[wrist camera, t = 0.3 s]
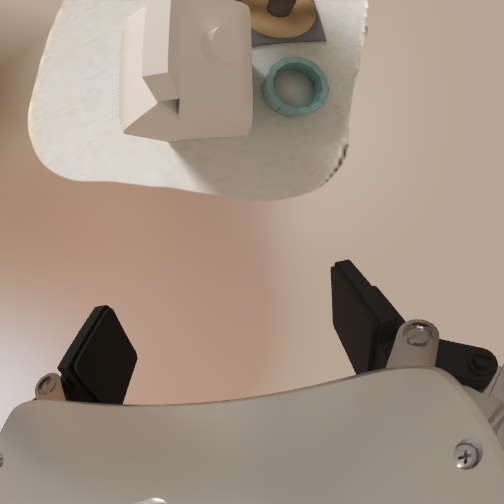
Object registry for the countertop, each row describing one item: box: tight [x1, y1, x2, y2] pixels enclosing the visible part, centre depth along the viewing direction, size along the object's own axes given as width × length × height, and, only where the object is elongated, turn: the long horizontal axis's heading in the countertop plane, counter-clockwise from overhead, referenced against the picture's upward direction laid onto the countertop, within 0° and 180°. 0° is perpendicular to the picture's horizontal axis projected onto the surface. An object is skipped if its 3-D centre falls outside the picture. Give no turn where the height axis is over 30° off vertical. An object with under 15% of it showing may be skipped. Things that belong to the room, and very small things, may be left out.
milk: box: [119, 0, 253, 142], centre depth 21 cm, size 12×12×26 cm
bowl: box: [262, 57, 329, 117], centre depth 31 cm, size 8×8×4 cm
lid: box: [242, 0, 316, 39], centre depth 25 cm, size 11×11×5 cm
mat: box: [235, 0, 326, 46], centre depth 27 cm, size 12×12×1 cm
